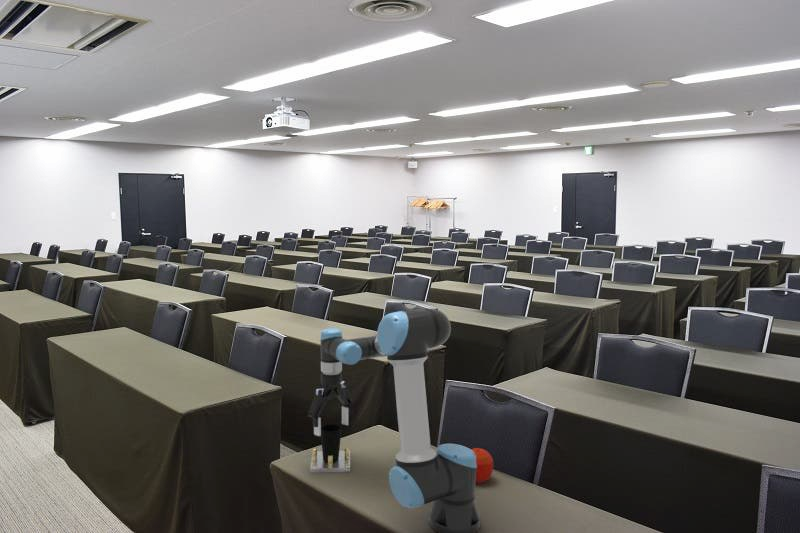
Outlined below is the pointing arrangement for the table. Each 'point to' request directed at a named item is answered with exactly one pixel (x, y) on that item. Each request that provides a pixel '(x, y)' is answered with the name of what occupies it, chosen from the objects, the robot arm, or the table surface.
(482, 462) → the apple
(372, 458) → the table surface
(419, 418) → the robot arm
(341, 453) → the white board with pegs
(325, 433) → the cup
